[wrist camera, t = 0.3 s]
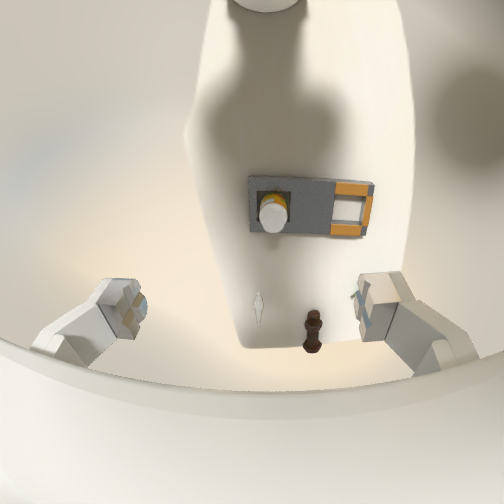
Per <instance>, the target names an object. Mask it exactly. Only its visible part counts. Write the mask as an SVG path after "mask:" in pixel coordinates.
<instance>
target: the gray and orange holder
mask: <svg viewBox="0 0 504 504" xmlns="http://www.w3.org/2000/svg"><path fill="white" fill-rule="evenodd" d="M374 186H375V185H374V184H373V183H372V182H365V181H354V180H341V179H326V178H307V177H278V176H249V215H250V232H267V231H266V230H265V229H264V228H263V225H262V223H261V222H260V218H257V191H289V192H291V193H290V215H289V218H287V221H286V223H285V224H284V227H283V229H282V230H281V231H280V232H278V233H312V234H330V235H348V236H360V235H364V236H366V231H367V226H368V224H369V219H370V213H371V208H372V202H373V193H374ZM335 194H341V195H356V196H363V201H362V207H361V213H360V219H359V221H344V220H332V214H333V205H334V197H335Z"/></svg>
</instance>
